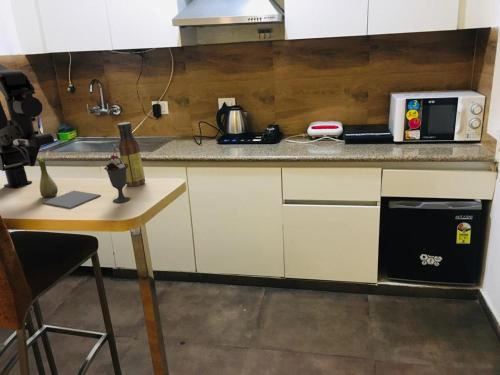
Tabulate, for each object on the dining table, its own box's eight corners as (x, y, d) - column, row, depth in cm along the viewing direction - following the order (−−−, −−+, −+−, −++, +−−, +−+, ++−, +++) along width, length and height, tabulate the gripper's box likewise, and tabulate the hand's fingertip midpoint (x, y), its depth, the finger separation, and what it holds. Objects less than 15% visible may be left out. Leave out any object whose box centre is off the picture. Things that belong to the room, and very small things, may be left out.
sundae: (126, 194, 128) (118, 145, 123) (137, 199, 123) (130, 148, 118) (105, 201, 124) (96, 150, 119) (116, 206, 119) (107, 153, 114)
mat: (42, 203, 125) (42, 202, 125) (73, 191, 134) (73, 190, 134) (70, 208, 119) (70, 207, 119) (100, 196, 128) (100, 194, 128)
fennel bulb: (47, 193, 134) (38, 156, 130) (62, 192, 134) (54, 155, 130) (37, 199, 129) (28, 161, 125) (53, 199, 128) (45, 160, 124)
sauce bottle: (147, 180, 140) (138, 120, 134) (143, 186, 134) (134, 124, 128) (127, 182, 140) (117, 121, 134) (122, 188, 134) (112, 125, 128)
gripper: (-26, 119, 124) (-12, 170, 129) (14, 120, 115) (27, 176, 120) (11, 113, 133) (22, 161, 138) (50, 114, 124) (60, 165, 129)
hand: (32, 166), depth 131 cm, fingers closed
